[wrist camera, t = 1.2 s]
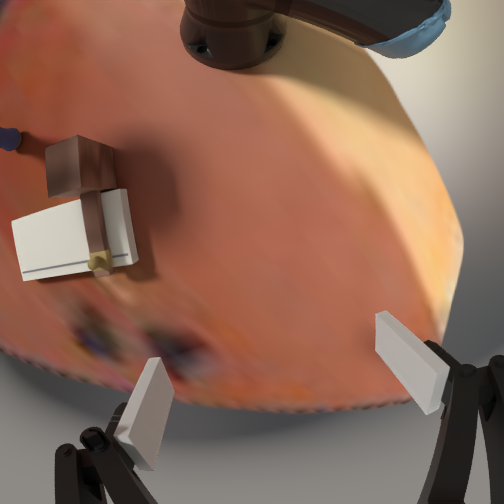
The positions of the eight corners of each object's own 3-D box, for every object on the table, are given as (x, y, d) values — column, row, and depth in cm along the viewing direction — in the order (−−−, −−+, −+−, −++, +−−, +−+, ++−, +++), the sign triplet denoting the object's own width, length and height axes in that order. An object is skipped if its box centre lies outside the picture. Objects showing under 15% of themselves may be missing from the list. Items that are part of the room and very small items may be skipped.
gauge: (84, 156, 34) (45, 148, 24) (112, 147, 34) (77, 134, 24) (101, 269, 37) (66, 291, 27) (130, 265, 37) (99, 287, 27)
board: (20, 219, 34) (11, 221, 32) (126, 189, 35) (119, 188, 32) (31, 277, 36) (23, 281, 34) (138, 260, 37) (132, 264, 34)
